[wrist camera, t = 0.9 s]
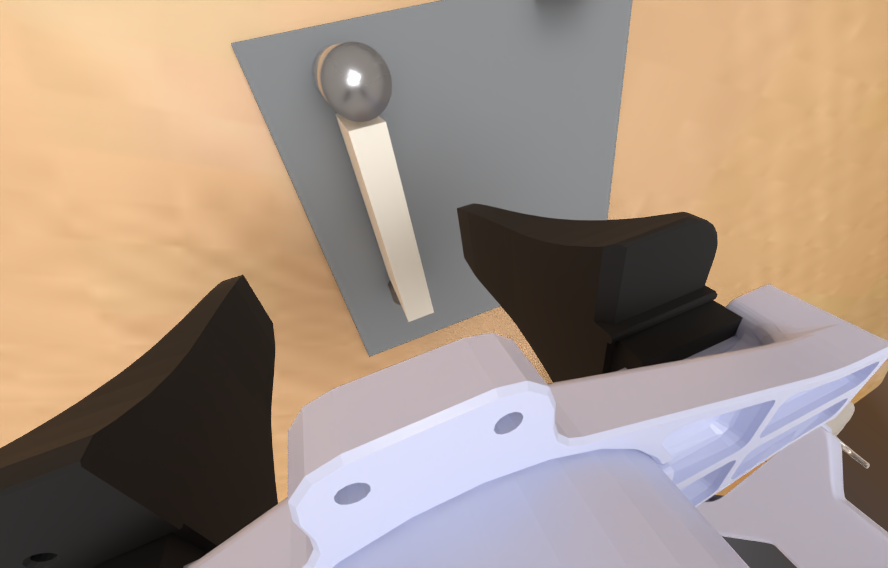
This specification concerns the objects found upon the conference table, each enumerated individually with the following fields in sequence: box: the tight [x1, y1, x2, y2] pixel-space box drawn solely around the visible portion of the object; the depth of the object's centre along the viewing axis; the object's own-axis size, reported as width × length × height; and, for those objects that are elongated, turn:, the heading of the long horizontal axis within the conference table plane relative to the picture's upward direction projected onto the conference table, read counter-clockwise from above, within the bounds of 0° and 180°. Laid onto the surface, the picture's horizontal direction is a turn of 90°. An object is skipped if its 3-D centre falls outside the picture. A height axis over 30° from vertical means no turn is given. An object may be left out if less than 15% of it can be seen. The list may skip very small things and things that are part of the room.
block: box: [336, 113, 434, 322], centre depth 19 cm, size 11×2×5 cm, turn 11°
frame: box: [312, 42, 392, 122], centre depth 15 cm, size 3×15×6 cm, turn 111°
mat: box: [231, 0, 632, 357], centre depth 23 cm, size 20×21×1 cm
